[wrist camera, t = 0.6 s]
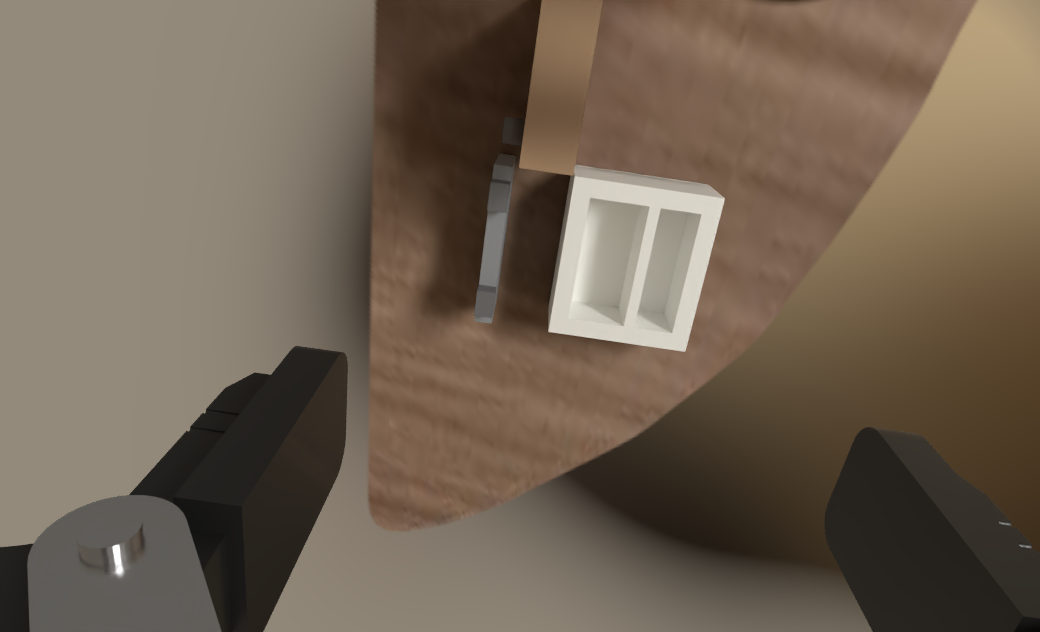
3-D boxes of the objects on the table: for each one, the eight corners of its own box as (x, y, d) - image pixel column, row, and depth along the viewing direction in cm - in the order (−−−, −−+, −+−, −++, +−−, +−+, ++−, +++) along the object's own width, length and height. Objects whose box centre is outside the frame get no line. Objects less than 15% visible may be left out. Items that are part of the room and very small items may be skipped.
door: (529, -17, 35) (521, -42, 26) (592, -8, 35) (607, -29, 26) (509, 136, 38) (496, 164, 29) (567, 145, 38) (573, 175, 29)
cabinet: (499, 153, 38) (492, 167, 34) (708, 184, 38) (729, 202, 34) (481, 297, 42) (472, 327, 37) (673, 324, 42) (688, 359, 37)
